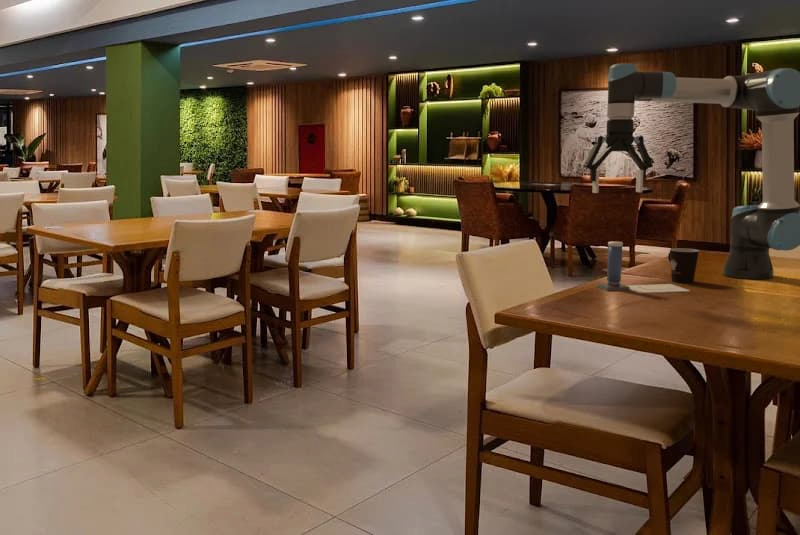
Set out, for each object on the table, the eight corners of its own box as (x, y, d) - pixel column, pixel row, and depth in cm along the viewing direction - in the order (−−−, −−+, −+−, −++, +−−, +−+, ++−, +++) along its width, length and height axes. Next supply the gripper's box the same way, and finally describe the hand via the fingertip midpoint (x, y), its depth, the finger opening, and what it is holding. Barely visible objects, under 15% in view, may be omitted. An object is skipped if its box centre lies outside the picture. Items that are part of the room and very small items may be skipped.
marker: (617, 283, 230) (619, 241, 228) (623, 286, 226) (625, 242, 223) (604, 284, 229) (605, 241, 227) (610, 286, 225) (611, 243, 223)
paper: (671, 285, 233) (671, 283, 233) (690, 291, 222) (690, 290, 222) (622, 286, 230) (622, 285, 230) (638, 293, 220) (639, 292, 220)
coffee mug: (699, 284, 234) (701, 252, 232) (670, 283, 236) (671, 251, 234) (692, 278, 245) (694, 247, 244) (664, 277, 247) (666, 246, 245)
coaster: (619, 286, 231) (619, 282, 231) (629, 290, 225) (629, 287, 224) (597, 286, 230) (597, 283, 230) (607, 291, 223) (607, 287, 223)
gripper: (654, 119, 225) (651, 191, 228) (574, 119, 221) (572, 192, 225) (667, 118, 218) (663, 192, 221) (584, 118, 214) (581, 193, 217)
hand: (617, 192), depth 223 cm, fingers open, 13 cm apart
